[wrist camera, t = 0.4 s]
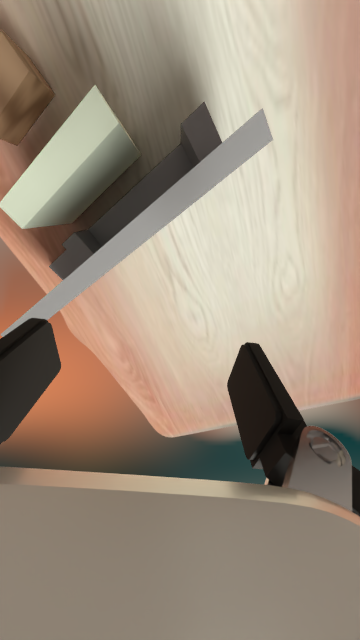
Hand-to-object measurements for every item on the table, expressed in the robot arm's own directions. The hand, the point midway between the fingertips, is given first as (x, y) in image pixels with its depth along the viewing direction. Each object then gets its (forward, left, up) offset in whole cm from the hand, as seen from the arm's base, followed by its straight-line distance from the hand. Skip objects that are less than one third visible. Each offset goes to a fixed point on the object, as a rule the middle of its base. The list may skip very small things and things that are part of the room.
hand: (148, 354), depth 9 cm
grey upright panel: (+4, -8, -30) cm, 31 cm away
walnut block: (+6, -27, -30) cm, 41 cm away
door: (+4, -15, -30) cm, 33 cm away
